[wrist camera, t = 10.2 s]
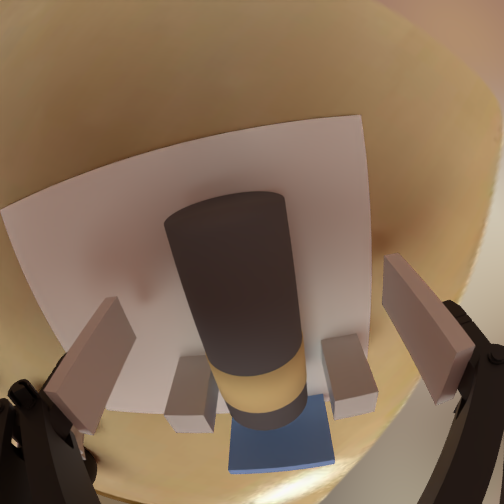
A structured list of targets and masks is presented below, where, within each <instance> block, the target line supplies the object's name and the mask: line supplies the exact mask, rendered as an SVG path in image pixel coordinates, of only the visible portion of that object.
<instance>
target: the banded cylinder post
mask: <svg viewBox="0 0 504 504" xmlns="http://www.w3.org/2000/svg"><path fill="white" fill-rule="evenodd" d="M164 228H165V231H166V235H167V238H168V241H169V245H170V248H171V252H172V255H173V258H174V261H175V265H176V268H177V271H178V274H179V277H180V281H181V284H182V287H183V290H184V293H185V296H186V299H187V302H188V305H189V308H190V311H191V313H192V316H193V319H194V322H195V325H196V328H197V331H198V333H199V336H200V339H201V342H202V344H203V347H204V350H205V354H206V358H207V360H208V363H209V365H210V368H211V371H212V373H213V376H214V378H215V381H216V383H217V386H218V388H219V390H220V393H221V395H222V397H223V398H224V400H225V403H226V405H227V407H228V410H229V412H230V414H231V416H232V417H233V418H234V420H235V421H236V422H238V423H239V424H241V425H242V426H244V427H246V428H249V429H253V430H261V431H266V430H274V429H278V428H281V427H283V426H286V425H288V424H289V423H291V422H292V421H294V420H295V419H296V418H297V417H298V416H299V415H300V414H301V413H302V412H303V410H304V408H305V406H306V403H307V398H308V394H307V382H306V380H307V372H306V360H305V350H304V339H303V332H302V329H301V320H300V311H299V302H298V294H297V285H296V277H295V269H294V261H293V254H292V246H291V239H290V232H289V225H288V218H287V211H286V204H285V198H284V197H283V196H282V195H281V194H278V193H274V192H266V191H252V192H241V193H234V194H228V195H223V196H218V197H214V198H210V199H207V200H203V201H200V202H197V203H194V204H192V205H189V206H187V207H185V208H182V209H180V210H178V211H177V212H175V213H173V214H172V215H170V216H169V217H168V218H167V219H166V220H165V222H164Z"/></svg>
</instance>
